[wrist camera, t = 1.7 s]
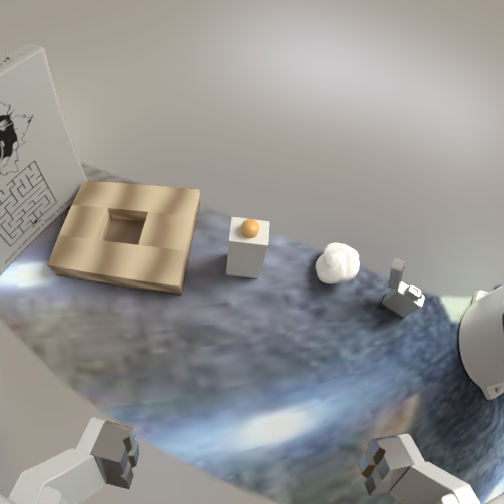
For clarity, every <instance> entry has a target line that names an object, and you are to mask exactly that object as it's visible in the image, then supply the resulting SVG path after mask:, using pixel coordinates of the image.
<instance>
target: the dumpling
mask: <svg viewBox="0 0 504 504" xmlns="http://www.w3.org/2000/svg"><path fill="white" fill-rule="evenodd" d="M345 244H346V243H345ZM345 244H340V243H331V244H328V245H327V246H326V248H325V250H324V253H323V254H321V256H320V257H319V258H318V260H317V262H316V270H317V275H318V277H319V279H320V280H321V281H323V282H325V283H338V282H340V281H343V282H348V281H350V280H351V279H353V278H354V277H355V276H356V274H357V273H358V271H359V266H360V263H359V254H358V252H357V251H356V250H355V249H353V248H351V247H349V246H348V245H347V244H346V245H345Z"/></svg>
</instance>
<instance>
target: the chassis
mask: <svg viewBox="0 0 504 504" xmlns="http://www.w3.org/2000/svg"><path fill="white" fill-rule="evenodd" d="M199 205H200V196H199V190H196V189H186V188H175V187H163V186H152V185H139V184H125V183H110V182H91V181H83V183H82V185H81V187H80V189H79V191H78V193H77V195H76V197H75V199H74V201H73V204H72V206H71V208H70V210H69V212H68V215H67V217H66V219H65V221H64V224H63V226H62V228H61V231H60V233H59V236H58V238H57V241H56V243H55V246H54V248H53V251H52V254H51V256H50V259H49V262H48V266H49V267H50V268H51V269H52V270H53V271H54V272H55V273H56V274H57V275H60V276H65V277H71V278H76V279H81V280H87V281H92V282H98V283H104V284H110V285H116V286H122V287H128V288H134V289H141V290H147V291H154V292H161V293H168V294H175V295H182V290H183V285H184V279H185V274H186V269H187V263H188V258H189V253H190V248H191V243H192V238H193V233H194V228H195V224H196V219H197V214H198V210H199Z"/></svg>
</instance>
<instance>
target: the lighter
mask: <svg viewBox="0 0 504 504" xmlns="http://www.w3.org/2000/svg"><path fill="white" fill-rule="evenodd" d="M404 264H405V261H404V260H400V259H397V258H395V259H394V261H393V264H392V267H391V272H390V279H389V286H388V288H391V289H392V290H391V291H389V292H388V293H387V294H386V295H385V297H384V299H383V302H382V304H383V305H385V306H386V307H388V308H389V309H391V310H392V311H394V312H395V313H397V314H399V315H400V316H402V317H403V318H405V317H406V316H408V315H409V314H411V313H413V312H414V311H416V310H417V309H419V308H420V307H422V305H423V302H424V296H423V295H421V291H420V290H419V289H417V288H416V287H415V286H413V285H410V286H408V285H407V284H405V283H404V282H401V280H402V275H403V269H404Z"/></svg>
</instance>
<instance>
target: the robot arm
mask: <svg viewBox="0 0 504 504" xmlns="http://www.w3.org/2000/svg"><path fill="white" fill-rule="evenodd" d="M459 348H460V354H461V359H462V362H463V365H464V367H465V370H466V372H467V374H468V375H469V377H470V378H471V379H472V380H473V381H474V382H475V383H476V384H477V385H478V386H479V387H480V388H481V389H482V391H483V393H484V395H485V397H486V399H487V400H492V399H495V398H496V397H498V396H499V395H501V394H502V393H504V285H503V286H501V287H499V288H497V289H496V290H494V291H492V292H490V293H487V292H484V291H481V290H480V291H477V292H476V293H475V294H474V297H473V301H472V304H471V306H470V307H469V308H468V310H467V311H466V312H465V314H464V316H463V318H462V321H461V325H460V330H459ZM135 438H136V430H135V428H131V427H128V426H124V425H120V424H117V423H113V422H110V421H106V420H103V419H99V418H96V417H92V418H91V419H90V421H89V423H88V424H87V426H86V428H85V430H84V432H83V434H82V436H81V438H80V440H79V442H78V444H77V446H76V448H75V449H72V448H70V449H68V450H67V451H65V452H63V453H61V454H59V455H57V456H55V457H53V458H51V459H49V460H47V461H45V462H43V463H40V464H38V465H36V466H35V467H32V468H30V469H28V470H26V471H23V472H22V473H21V475H20V477H19V479H18V481H17V482H16V484H15V486H14V488H13V490H12V492H11V494H10V496H9V498H6V497H5V496H3V495H1V494H0V504H81V503H82V502H83V501H85V500H86V499H88V498H89V497H90V496H91V495H93V494H94V493H96V492H97V491H98V490H100V489H101V488H102V487H103V486H105V485H106V483H107V484H110V485H114V486H118V487H122V488H126V489H129V488H130V485H131V482H132V478H133V472H132V468H133V467H135V466H136V464H137V460H138V455H139V445H138V442H137V441H136V440H135ZM368 447H369V449H368V450H366V451H365V452H363V454H362V456H361V457H360V463H359V466H360V471H361V474H362V475H363V476H365V477H366V478H367V479H366V481H365V485H366V488H367V491H368V494H369V496H372V495H377V494H382V493H387V492H389V494H390V495H391V496H393V497H394V498H395V499H396V500H397V501H398V502H400V503H401V504H480V502H479V500H478V499H477V497H476V495H475V493H474V492H473V490H472V488H471V486H470V485H469V484H468V483H466V482H464V481H462V480H460V479H458V478H456V477H455V476H453V475H451V474H449V473H447V472H446V471H444V470H442V469H440V468H439V467H437V466H435V465H433V464H432V463H430V462H425V461H424V459H423V457H422V455H421V454H420V452H419V450H418V448H417V446H416V445H415V443H414V441H413V439H412V438H411V436H410V435H409V434H402V435H397V436H389V437H383V438H377V439H373V440H371V441H370V442H369V444H368ZM486 504H504V493H502V494H501V495H499V496H497V497H496V498H494V499H492V500H491V501H489V502H487V503H486Z"/></svg>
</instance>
